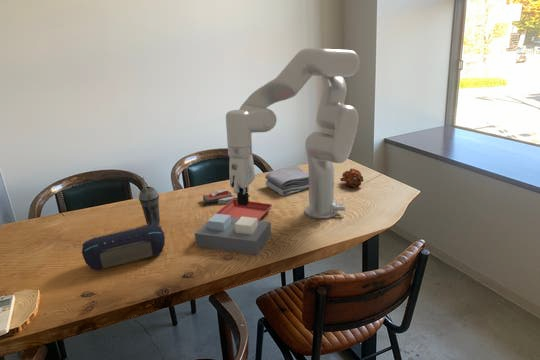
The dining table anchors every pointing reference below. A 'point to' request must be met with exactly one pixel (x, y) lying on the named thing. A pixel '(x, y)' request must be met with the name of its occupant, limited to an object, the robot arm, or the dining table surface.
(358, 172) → the pine cone
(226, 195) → the walkie-talkie
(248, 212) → the plant saucer
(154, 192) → the beverage cup
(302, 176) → the towel
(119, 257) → the portable speaker
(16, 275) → the dining table surface
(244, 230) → the white key
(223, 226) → the blue key
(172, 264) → the dining table surface
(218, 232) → the console
